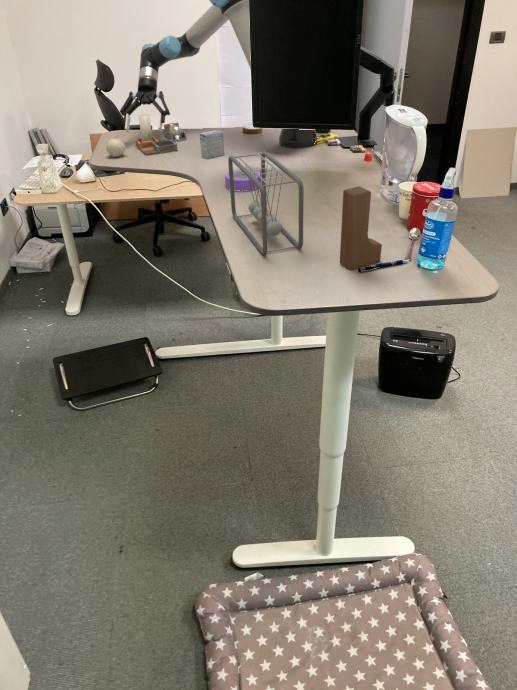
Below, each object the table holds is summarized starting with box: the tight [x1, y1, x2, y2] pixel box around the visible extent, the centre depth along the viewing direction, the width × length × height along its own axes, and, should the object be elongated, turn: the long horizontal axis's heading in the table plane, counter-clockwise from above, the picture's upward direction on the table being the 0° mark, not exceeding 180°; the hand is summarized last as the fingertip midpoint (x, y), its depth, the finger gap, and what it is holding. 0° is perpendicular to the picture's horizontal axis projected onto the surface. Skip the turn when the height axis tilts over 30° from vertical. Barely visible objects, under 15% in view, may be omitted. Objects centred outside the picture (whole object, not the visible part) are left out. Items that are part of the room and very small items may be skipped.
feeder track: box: [163, 122, 188, 143], centre depth 231 cm, size 11×6×5 cm, turn 24°
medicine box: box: [199, 129, 225, 160], centre depth 206 cm, size 8×4×9 cm, turn 128°
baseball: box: [105, 138, 126, 158], centre depth 211 cm, size 7×7×7 cm
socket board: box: [134, 136, 178, 156], centre depth 220 cm, size 17×13×3 cm
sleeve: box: [138, 114, 153, 143], centre depth 220 cm, size 5×5×11 cm
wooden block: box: [339, 186, 383, 271], centre depth 124 cm, size 9×4×18 cm, turn 119°
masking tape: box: [224, 169, 262, 192], centre depth 178 cm, size 12×12×4 cm
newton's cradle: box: [228, 150, 305, 256], centre depth 141 cm, size 30×10×18 cm, turn 18°
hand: (143, 130), depth 217 cm, fingers open, 13 cm apart
